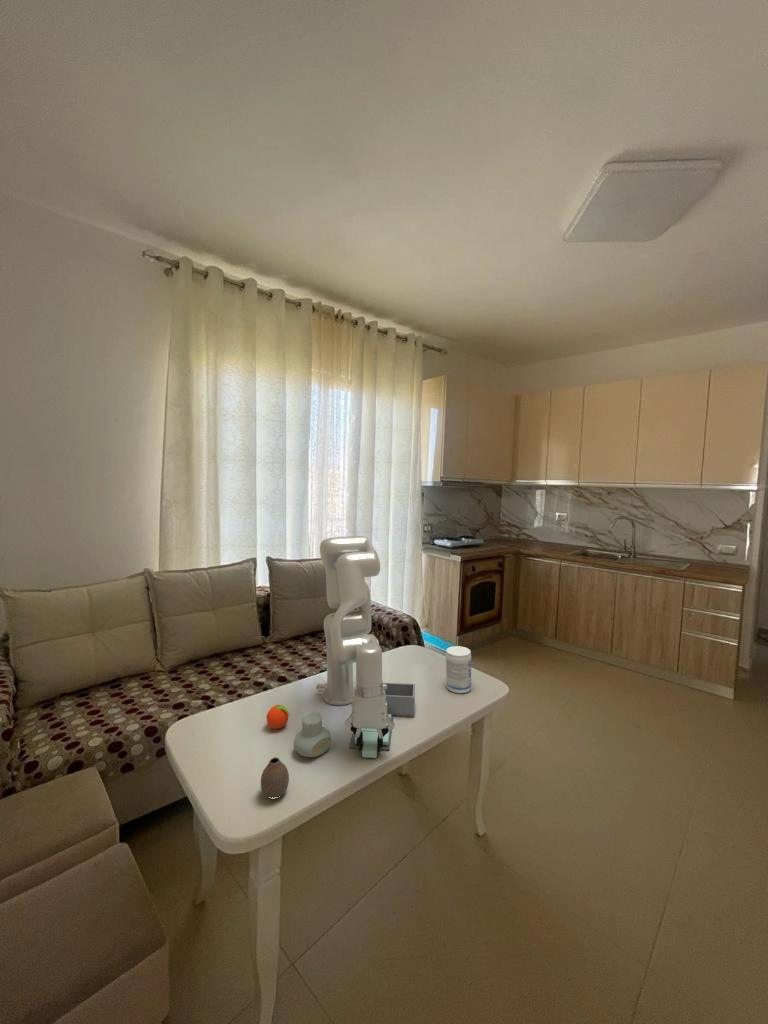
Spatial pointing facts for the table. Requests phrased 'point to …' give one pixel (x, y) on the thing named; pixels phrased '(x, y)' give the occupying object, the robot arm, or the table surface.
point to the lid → (371, 741)
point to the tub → (400, 699)
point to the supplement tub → (458, 669)
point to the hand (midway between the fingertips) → (369, 748)
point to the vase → (274, 778)
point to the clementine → (277, 716)
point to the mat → (354, 746)
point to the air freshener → (312, 736)
